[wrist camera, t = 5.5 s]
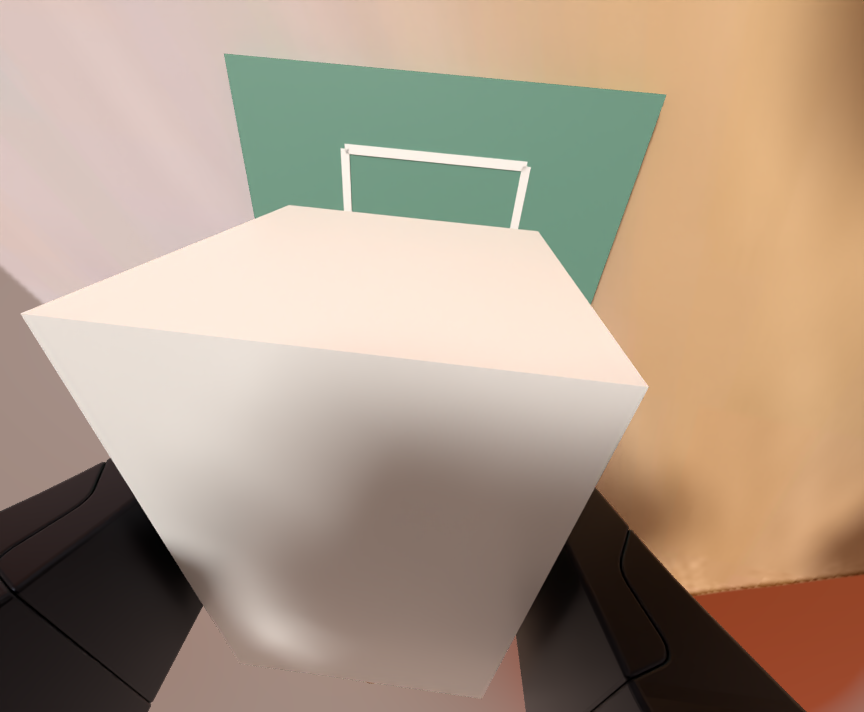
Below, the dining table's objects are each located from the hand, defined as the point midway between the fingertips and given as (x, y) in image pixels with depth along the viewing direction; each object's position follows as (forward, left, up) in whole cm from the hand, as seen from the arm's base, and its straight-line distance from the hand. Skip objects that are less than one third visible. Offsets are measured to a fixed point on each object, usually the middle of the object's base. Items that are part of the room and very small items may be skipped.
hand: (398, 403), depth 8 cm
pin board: (0, 0, -8) cm, 8 cm away
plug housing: (0, +2, -1) cm, 2 cm away
